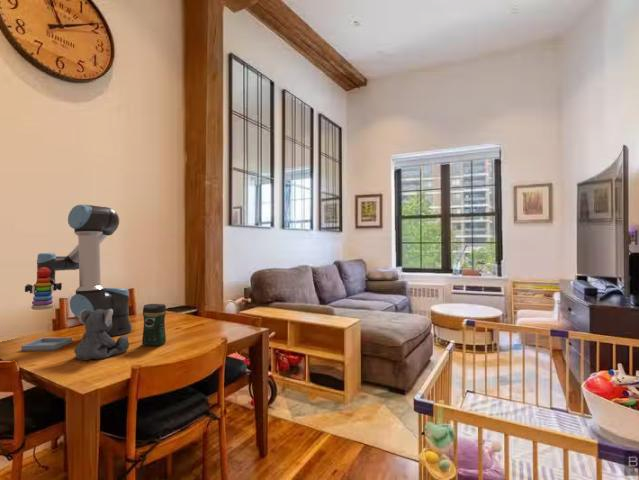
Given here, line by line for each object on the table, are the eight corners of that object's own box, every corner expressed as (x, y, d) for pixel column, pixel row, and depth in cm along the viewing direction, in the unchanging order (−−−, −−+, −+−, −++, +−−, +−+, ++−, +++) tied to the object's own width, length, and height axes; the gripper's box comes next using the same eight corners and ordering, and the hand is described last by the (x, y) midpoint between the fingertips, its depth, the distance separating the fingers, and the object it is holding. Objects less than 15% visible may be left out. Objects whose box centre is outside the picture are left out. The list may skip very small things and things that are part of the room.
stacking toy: (41, 310, 156) (41, 268, 156) (26, 309, 158) (26, 267, 158) (58, 307, 164) (58, 266, 164) (43, 306, 166) (43, 266, 166)
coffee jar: (168, 342, 167) (169, 302, 167) (158, 347, 159) (159, 305, 159) (150, 341, 168) (150, 302, 169) (138, 345, 161) (139, 304, 161)
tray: (71, 342, 165) (72, 337, 165) (54, 350, 152) (54, 345, 152) (41, 342, 164) (41, 337, 164) (21, 351, 151) (21, 345, 151)
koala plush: (132, 350, 154) (133, 305, 154) (97, 364, 136) (98, 313, 137) (98, 347, 158) (99, 303, 158) (61, 360, 140) (62, 310, 140)
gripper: (68, 291, 181) (68, 296, 163) (20, 294, 170) (14, 300, 152) (68, 276, 181) (69, 280, 163) (20, 278, 170) (14, 282, 152)
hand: (42, 289), depth 157 cm, fingers closed on stacking toy, 6 cm apart
